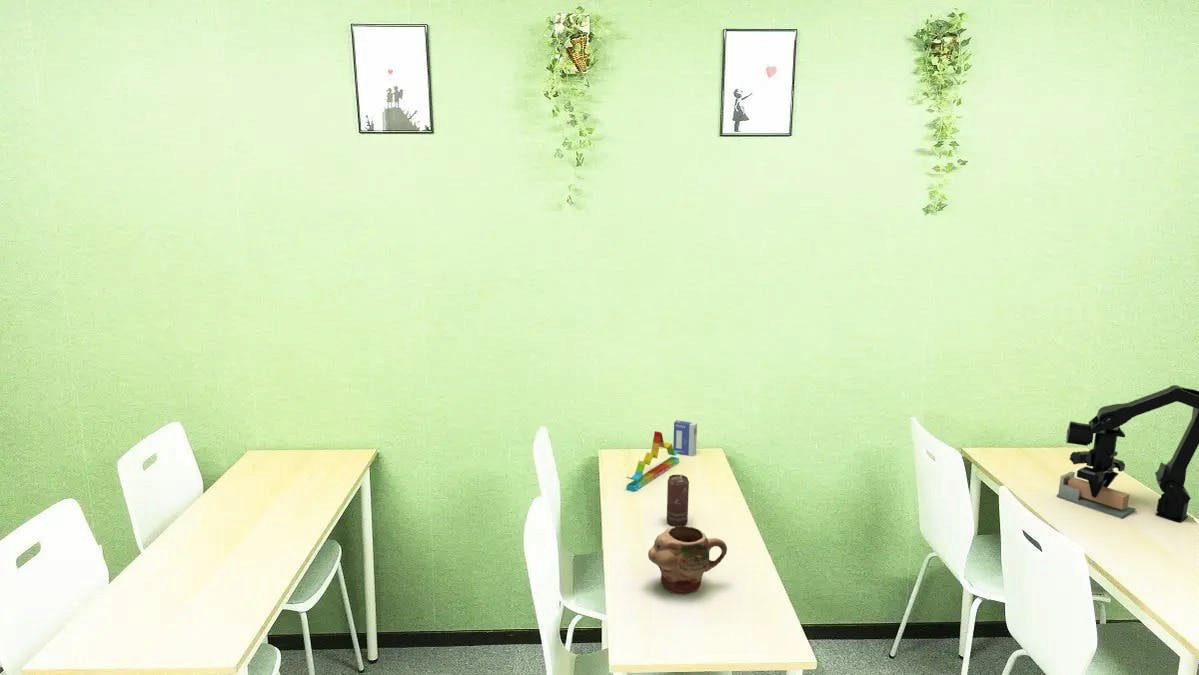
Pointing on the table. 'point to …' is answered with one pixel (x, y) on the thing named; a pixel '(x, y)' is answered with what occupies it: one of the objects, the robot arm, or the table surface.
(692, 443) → the walkman
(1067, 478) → the bracket
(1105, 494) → the rail
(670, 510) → the can
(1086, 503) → the board
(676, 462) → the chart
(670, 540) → the brown sculpted mug
